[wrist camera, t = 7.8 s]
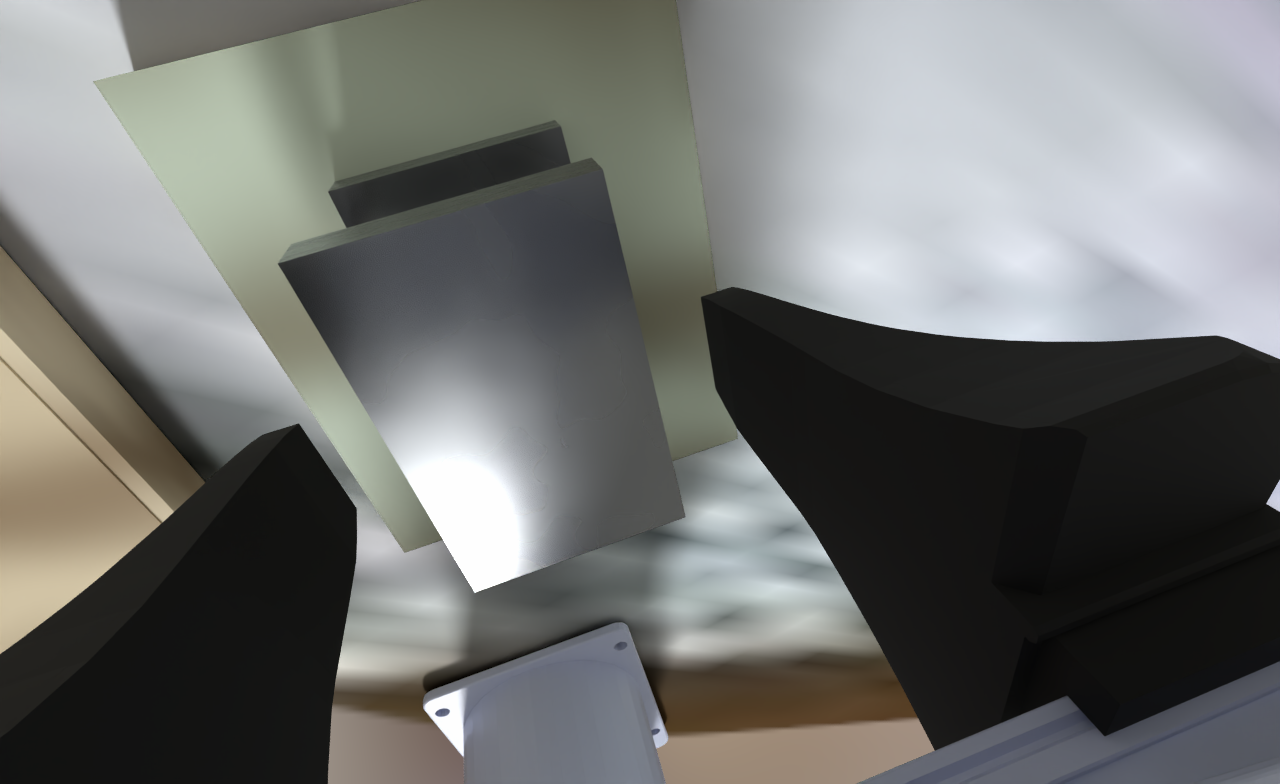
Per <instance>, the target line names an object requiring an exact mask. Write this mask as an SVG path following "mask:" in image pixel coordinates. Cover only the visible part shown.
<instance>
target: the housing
mask: <svg viewBox="0 0 1280 784" xmlns="http://www.w3.org/2000/svg"><path fill="white" fill-rule="evenodd" d="M328 193H329V195H330V197H331V199H332V201H333V203H334V205H335V207H336V209H337V211H338V213H339V215H340V217H341V219H342V221H343V223H344V224H345V226H346V228H345V229H341V230H338V231H335V232H331V233H328V234H324V235H321V236H317V237H314V238H310V239H307V240H303V241H300V242H296V243H293V244H291V245H290V247H289V248H288V249H287V251H286V252H285V254H284V255H283V257H282V258H281V259H280V261H279V262H278V265H279V267H280V268H281V270H282V272H283V273H284V275H285V277H286V278H287V280H288V282H289V283H290V285H291V287H292V288H293V290H294V292H295V293H296V295H297V297H298V298H299V300H300V302H301V303H302V305H303V307H304V308H305V310H306V312H307V313H308V315H309V317H310V318H311V320H312V322H313V323H314V325H315V327H316V328H317V330H318V332H319V333H320V335H321V337H322V338H323V340H324V342H325V343H326V345H327V347H328V348H329V350H330V352H331V353H332V355H333V357H334V358H335V360H336V362H337V363H338V365H339V367H340V368H341V370H342V372H343V373H344V375H345V377H346V378H347V380H348V382H349V383H350V385H351V387H352V388H353V390H354V392H355V393H356V395H357V397H358V398H359V400H360V402H361V403H362V405H363V407H364V408H365V410H366V412H367V413H368V415H369V417H370V418H371V420H372V422H373V423H374V425H375V427H376V428H377V430H378V432H379V433H380V435H381V437H382V438H383V440H384V442H385V443H386V445H387V447H388V448H389V450H390V452H391V453H392V455H393V457H394V458H395V460H396V462H397V463H398V465H399V467H400V468H401V470H402V472H403V473H404V475H405V477H406V478H407V480H408V482H409V483H410V485H411V487H412V488H413V490H414V492H415V493H416V495H417V497H418V498H419V500H420V502H421V503H422V505H423V507H424V508H425V510H426V512H427V513H428V515H429V517H430V518H431V520H432V522H433V523H434V525H435V527H436V528H437V530H438V532H439V533H440V535H441V537H442V538H443V540H444V542H445V543H446V545H447V547H448V548H449V550H450V552H451V553H452V555H453V557H454V558H455V560H456V562H457V563H458V565H459V567H460V568H461V570H462V572H463V573H464V575H465V577H466V578H467V580H468V582H469V583H470V585H471V587H472V588H473V590H474V592H477V591H480V590H483V589H486V588H488V587H491V586H494V585H497V584H500V583H502V582H505V581H508V580H511V579H514V578H516V577H519V576H522V575H525V574H528V573H530V572H533V571H536V570H539V569H542V568H544V567H547V566H550V565H553V564H556V563H558V562H561V561H564V560H567V559H570V558H572V557H575V556H578V555H581V554H584V553H586V552H589V551H592V550H595V549H598V548H600V547H603V546H606V545H609V544H612V543H614V542H617V541H620V540H623V539H626V538H628V537H631V536H634V535H637V534H640V533H642V532H645V531H648V530H651V529H654V528H656V527H659V526H662V525H665V524H668V523H670V522H673V521H676V520H679V519H682V518H684V517H685V513H684V509H683V504H682V500H681V496H680V492H679V488H678V483H677V479H676V475H675V471H674V466H673V462H672V458H671V454H670V450H669V445H668V441H667V437H666V433H665V429H664V424H663V420H662V416H661V412H660V408H659V403H658V399H657V395H656V391H655V386H654V382H653V378H652V374H651V370H650V365H649V361H648V357H647V353H646V349H645V344H644V340H643V336H642V332H641V328H640V323H639V319H638V315H637V311H636V306H635V302H634V298H633V294H632V290H631V285H630V281H629V277H628V273H627V269H626V264H625V260H624V256H623V252H622V248H621V243H620V239H619V235H618V231H617V226H616V222H615V218H614V214H613V210H612V205H611V201H610V197H609V193H608V189H607V184H606V180H605V176H604V172H603V169H602V168H601V167H600V166H599V165H598V164H597V163H596V161H595V160H594V159H593V158H592V157H591V158H588V159H585V160H581V161H578V162H574V163H571V162H570V158H569V154H568V151H567V147H566V143H565V139H564V136H563V132H562V128H561V126H560V125H559V124H558V123H557V122H556V121H555V120H553V121H550V122H546V123H543V124H539V125H535V126H532V127H528V128H525V129H521V130H518V131H514V132H510V133H507V134H503V135H500V136H496V137H492V138H489V139H485V140H482V141H478V142H475V143H471V144H467V145H464V146H460V147H457V148H453V149H450V150H446V151H442V152H439V153H435V154H432V155H428V156H425V157H421V158H417V159H414V160H410V161H407V162H403V163H400V164H396V165H392V166H389V167H385V168H382V169H378V170H374V171H371V172H367V173H364V174H360V175H357V176H353V177H349V178H346V179H342V180H339V181H335V182H334V184H333V185H332V186H331V188H330V189H329V191H328Z"/></svg>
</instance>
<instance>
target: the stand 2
mask: <svg viewBox="0 0 1280 784" xmlns="http://www.w3.org/2000/svg"><path fill="white" fill-rule="evenodd" d="M93 82H94V83H95V85H96V86H97V88H98V89H99V91H100V92H101V94H102V96H103V97H104V99H105V100H106V102H107V103H108V105H109V106H110V108H111V109H112V111H113V112H114V114H115V115H116V117H117V118H118V120H119V121H120V123H121V124H122V126H123V127H124V129H125V130H126V132H127V133H128V135H129V136H130V138H131V139H132V141H133V142H134V144H135V145H136V147H137V148H138V150H139V152H140V153H141V155H142V156H143V158H144V159H145V161H146V162H147V164H148V165H149V167H150V168H151V170H152V171H153V173H154V174H155V176H156V177H157V179H158V180H159V182H160V183H161V185H162V186H163V188H164V189H165V191H166V192H167V194H168V195H169V197H170V198H171V200H172V201H173V203H174V204H175V206H176V208H177V209H178V211H179V212H180V214H181V215H182V217H183V218H184V220H185V221H186V223H187V224H188V226H189V227H190V229H191V230H192V232H193V233H194V235H195V236H196V238H197V239H198V241H199V242H200V244H201V245H202V247H203V248H204V250H205V251H206V253H207V254H208V256H209V257H210V259H211V260H212V262H213V264H214V265H215V267H216V268H217V270H218V271H219V273H220V274H221V276H222V277H223V279H224V280H225V282H226V283H227V285H228V286H229V288H230V289H231V291H232V292H233V294H234V295H235V297H236V298H237V300H238V301H239V303H240V304H241V306H242V307H243V309H244V310H245V312H246V313H247V315H248V316H249V318H250V320H251V321H252V323H253V324H254V326H255V327H256V329H257V330H258V332H259V333H260V335H261V336H262V338H263V339H264V341H265V342H266V344H267V345H268V347H269V348H270V350H271V351H272V353H273V354H274V356H275V357H276V359H277V360H278V362H279V363H280V365H281V366H282V368H283V369H284V371H285V373H286V374H287V376H288V377H289V379H290V380H291V382H292V383H293V385H294V386H295V388H296V389H297V391H298V392H299V394H300V395H301V397H302V398H303V400H304V401H305V403H306V404H307V406H308V407H309V409H310V410H311V412H312V413H313V415H314V416H315V418H316V419H317V421H318V422H319V424H320V425H321V427H322V429H323V430H324V432H325V433H326V435H327V436H328V438H329V439H330V441H331V442H332V444H333V445H334V447H335V448H336V450H337V451H338V453H339V454H340V456H341V457H342V459H343V460H344V462H345V463H346V465H347V466H348V468H349V469H350V471H351V472H352V474H353V475H354V477H355V478H356V480H357V481H358V483H359V485H360V486H361V488H362V489H363V491H364V492H365V494H366V495H367V497H368V498H369V500H370V501H371V503H372V504H373V506H374V507H375V509H376V510H377V512H378V513H379V515H380V516H381V518H382V519H383V521H384V522H385V524H386V525H387V527H388V528H389V530H390V531H391V533H392V534H393V536H394V537H395V539H396V541H397V542H398V544H399V545H400V547H401V548H402V550H403V551H404V553H405V552H408V551H411V550H414V549H417V548H420V547H423V546H426V545H429V544H432V543H435V542H437V541H440V540H443V538H442V537H441V535H440V533H439V532H438V530H437V528H436V527H435V525H434V523H433V522H432V520H431V518H430V517H429V515H428V513H427V512H426V510H425V508H424V507H423V505H422V503H421V502H420V500H419V498H418V497H417V495H416V493H415V492H414V490H413V488H412V487H411V485H410V483H409V482H408V480H407V478H406V477H405V475H404V473H403V472H402V470H401V468H400V467H399V465H398V463H397V462H396V460H395V458H394V457H393V455H392V453H391V452H390V450H389V448H388V447H387V445H386V443H385V442H384V440H383V438H382V437H381V435H380V433H379V432H378V430H377V428H376V427H375V425H374V423H373V422H372V420H371V418H370V417H369V415H368V413H367V412H366V410H365V408H364V407H363V405H362V403H361V402H360V400H359V398H358V397H357V395H356V393H355V392H354V390H353V388H352V387H351V385H350V383H349V382H348V380H347V378H346V377H345V375H344V373H343V372H342V370H341V368H340V367H339V365H338V363H337V362H336V360H335V358H334V357H333V355H332V353H331V352H330V350H329V348H328V347H327V345H326V343H325V342H324V340H323V338H322V337H321V335H320V333H319V332H318V330H317V328H316V327H315V325H314V323H313V322H312V320H311V318H310V317H309V315H308V313H307V312H306V310H305V308H304V307H303V305H302V303H301V302H300V300H299V298H298V297H297V295H296V293H295V292H294V290H293V288H292V287H291V285H290V283H289V282H288V280H287V278H286V277H285V275H284V273H283V272H282V270H281V268H280V267H279V265H278V262H279V261H280V259H281V258H282V257H283V255H284V254H285V252H286V251H287V249H288V248H289V247H290V245H291V244H293V243H296V242H300V241H303V240H307V239H310V238H314V237H317V236H321V235H324V234H328V233H331V232H335V231H338V230H341V229H345V228H346V226H345V224H344V223H343V221H342V219H341V217H340V215H339V213H338V211H337V209H336V207H335V205H334V203H333V201H332V199H331V197H330V195H329V193H328V191H329V189H330V188H331V186H332V185H333V184H334V182H335V181H339V180H342V179H346V178H349V177H353V176H357V175H360V174H364V173H367V172H371V171H374V170H378V169H382V168H385V167H389V166H392V165H396V164H400V163H403V162H407V161H410V160H414V159H417V158H421V157H425V156H428V155H432V154H435V153H439V152H442V151H446V150H450V149H453V148H457V147H460V146H464V145H467V144H471V143H475V142H478V141H482V140H485V139H489V138H492V137H496V136H500V135H503V134H507V133H510V132H514V131H518V130H521V129H525V128H528V127H532V126H535V125H539V124H543V123H546V122H550V121H553V120H555V121H556V122H557V123H558V124H559V125H560V126H561V128H562V132H563V136H564V139H565V143H566V147H567V151H568V154H569V158H570V162H571V163H574V162H578V161H581V160H585V159H588V158H591V157H592V158H593V159H594V160H595V161H596V163H597V164H598V165H599V166H600V167H601V168H602V169H603V172H604V176H605V180H606V184H607V189H608V193H609V197H610V201H611V205H612V210H613V214H614V218H615V222H616V226H617V231H618V235H619V239H620V243H621V248H622V252H623V256H624V260H625V264H626V269H627V273H628V277H629V281H630V285H631V290H632V294H633V298H634V302H635V306H636V311H637V315H638V319H639V323H640V328H641V332H642V336H643V340H644V344H645V349H646V353H647V357H648V361H649V365H650V370H651V374H652V378H653V382H654V386H655V391H656V395H657V399H658V403H659V408H660V412H661V416H662V420H663V424H664V429H665V433H666V437H667V441H668V445H669V450H670V454H671V458H672V461H674V460H677V459H680V458H683V457H686V456H689V455H691V454H694V453H697V452H700V451H703V450H706V449H709V448H712V447H715V446H718V445H721V444H724V443H727V442H729V441H732V440H735V439H738V438H737V430H736V426H735V424H734V422H733V420H732V419H731V417H730V415H729V413H728V411H727V410H726V408H725V406H724V404H723V402H722V400H721V398H720V397H719V395H718V393H717V391H716V389H715V383H714V377H713V371H712V365H711V358H710V352H709V346H708V340H707V334H706V328H705V321H704V315H703V309H702V303H701V297H702V296H705V295H708V294H712V293H715V292H717V289H716V282H715V275H714V268H713V260H712V253H711V246H710V239H709V232H708V225H707V218H706V211H705V204H704V197H703V190H702V182H701V175H700V168H699V161H698V154H697V147H696V140H695V133H694V126H693V119H692V112H691V105H690V97H689V90H688V83H687V76H686V69H685V62H684V55H683V48H682V41H681V34H680V27H679V20H678V12H677V5H676V0H421V1H417V2H413V3H409V4H405V5H401V6H397V7H393V8H389V9H385V10H381V11H377V12H373V13H369V14H365V15H361V16H357V17H353V18H348V19H344V20H340V21H336V22H332V23H328V24H324V25H320V26H316V27H312V28H308V29H304V30H300V31H296V32H292V33H288V34H284V35H280V36H275V37H271V38H267V39H263V40H259V41H255V42H251V43H247V44H243V45H239V46H235V47H231V48H227V49H223V50H219V51H215V52H211V53H207V54H203V55H198V56H194V57H190V58H186V59H182V60H178V61H174V62H170V63H166V64H162V65H158V66H154V67H150V68H146V69H142V70H138V71H134V72H130V73H125V74H121V75H117V76H113V77H109V78H105V79H101V80H97V81H93Z"/></svg>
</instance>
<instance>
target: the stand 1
mask: <svg viewBox="0 0 1280 784" xmlns="http://www.w3.org/2000/svg"><path fill="white" fill-rule="evenodd" d="M204 484H205V482H204V480H203V479H202V478H201V477H200V476H199V475H198V474H197V472H196V471H195V470H194V469H193V468H192V467H191V465H190V464H189V463H188V462H187V461H186V460H185V459H184V457H183V456H182V455H181V454H180V453H179V452H178V450H177V449H176V448H175V447H174V446H173V445H172V444H171V442H170V441H169V440H168V439H167V438H166V437H165V435H164V434H163V433H162V432H161V431H160V430H159V429H158V427H157V426H156V425H155V424H154V423H153V422H152V420H151V419H150V418H149V417H148V416H147V415H146V414H145V412H144V411H143V410H142V409H141V408H140V407H139V405H138V404H137V403H136V402H135V401H134V400H133V399H132V397H131V396H130V395H129V394H128V393H127V392H126V390H125V389H124V388H123V387H122V386H121V385H120V384H119V382H118V381H117V380H116V379H115V378H114V377H113V375H112V374H111V373H110V372H109V371H108V370H107V369H106V367H105V366H104V365H103V364H102V363H101V362H100V360H99V359H98V358H97V357H96V356H95V355H94V354H93V352H92V351H91V350H90V349H89V348H88V347H87V345H86V344H85V343H84V342H83V341H82V340H81V339H80V337H79V336H78V335H77V334H76V333H75V332H74V330H73V329H72V328H71V327H70V326H69V325H68V324H67V322H66V321H65V320H64V319H63V318H62V317H61V315H60V314H59V313H58V312H57V311H56V310H55V309H54V307H53V306H52V305H51V304H50V303H49V302H48V300H47V299H46V298H45V297H44V296H43V295H42V294H41V292H40V291H39V290H38V289H37V288H36V287H35V285H34V284H33V283H32V282H31V281H30V280H29V279H28V277H27V276H26V275H25V274H24V273H23V272H22V270H21V269H20V268H19V267H18V266H17V265H16V264H15V262H14V261H13V260H12V259H11V258H10V257H9V255H8V254H7V253H6V252H5V251H4V250H3V249H2V247H1V246H0V654H1V653H2V652H4V651H5V650H6V649H8V648H9V647H11V646H12V645H13V644H15V643H16V642H17V641H19V640H20V639H22V638H23V637H24V636H26V635H27V634H28V633H29V632H31V631H32V630H33V629H35V628H36V627H37V626H39V625H40V624H41V623H43V622H44V621H45V620H47V619H48V618H49V617H50V616H52V615H53V614H54V613H56V612H57V611H58V610H60V609H61V608H62V607H64V606H65V605H66V604H67V603H69V602H70V601H71V600H72V599H74V598H75V597H76V596H77V595H79V594H80V593H81V592H82V591H84V590H85V589H86V588H87V587H89V586H90V585H91V584H92V583H93V582H95V581H96V580H97V579H98V578H99V577H101V576H102V575H103V574H104V573H105V572H107V571H108V570H109V569H110V568H111V567H112V566H113V565H115V564H116V563H117V562H118V561H119V560H120V559H121V558H123V557H124V556H125V555H126V554H127V553H128V552H129V551H131V550H132V549H133V548H134V547H135V546H136V545H137V544H139V543H140V542H141V541H142V540H143V539H144V538H145V537H147V536H148V535H149V534H150V533H151V532H152V531H153V530H155V529H156V528H157V527H158V526H159V525H160V524H161V523H162V522H164V521H165V520H166V519H167V518H168V517H169V516H170V515H171V514H172V513H173V512H174V511H175V510H177V509H178V508H179V507H180V506H181V505H182V504H183V503H184V502H185V501H186V500H187V499H188V498H190V497H191V496H192V495H193V494H194V493H195V492H196V491H197V490H198V489H199V488H200V487H201V486H202V485H204Z"/></svg>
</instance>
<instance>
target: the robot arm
mask: <svg viewBox="0 0 1280 784" xmlns="http://www.w3.org/2000/svg"><path fill="white" fill-rule="evenodd" d="M701 303H702V309H703V315H704V321H705V328H706V334H707V340H708V346H709V352H710V358H711V365H712V371H713V377H714V383H715V389H716V391H717V393H718V395H719V397H720V398H721V400H722V402H723V404H724V406H725V408H726V410H727V411H728V413H729V415H730V417H731V419H732V420H733V422H734V424H735V426H736V427H737V429H738V430H739V432H740V433H741V434H742V436H743V437H744V439H745V440H746V441H747V443H748V444H749V445H750V447H751V448H752V449H753V451H754V452H755V453H756V455H757V456H758V457H759V459H760V460H761V461H762V462H763V464H764V465H765V466H766V468H767V469H768V470H769V472H770V473H771V474H772V476H773V477H774V478H775V480H776V481H777V482H778V483H779V485H780V486H781V487H782V489H783V490H784V491H785V493H786V494H787V495H788V497H789V498H790V499H791V501H792V502H793V503H794V504H795V506H796V507H797V508H798V510H799V511H800V512H801V514H802V515H803V517H804V518H805V520H806V521H807V523H808V524H809V525H810V527H811V528H812V530H813V531H814V533H815V534H816V536H817V538H818V539H819V541H820V543H821V544H822V546H823V548H824V549H825V551H826V553H827V554H828V556H829V558H830V559H831V561H832V563H833V564H834V566H835V568H836V569H837V571H838V573H839V574H840V576H841V578H842V580H843V581H844V583H845V585H846V587H847V588H848V590H849V592H850V594H851V595H852V597H853V599H854V601H855V602H856V604H857V606H858V608H859V609H860V611H861V613H862V615H863V616H864V618H865V620H866V622H867V623H868V625H869V627H870V629H871V630H872V632H873V634H874V636H875V638H876V640H877V642H878V643H879V645H880V647H881V649H882V651H883V653H884V654H885V656H886V658H887V660H888V662H889V664H890V665H891V667H892V669H893V671H894V673H895V675H896V677H897V678H898V680H899V682H900V684H901V686H902V688H903V689H904V691H905V693H906V695H907V697H908V699H909V701H910V703H911V705H912V707H913V709H914V711H915V713H916V715H917V717H918V719H919V721H920V722H921V724H922V726H923V728H924V730H925V732H926V734H927V736H928V738H929V740H930V742H931V744H932V746H933V748H934V750H935V751H933V752H931V753H928V754H926V755H924V756H921V757H919V758H917V759H914V760H912V761H909V762H907V763H905V764H902V765H900V766H897V767H895V768H893V769H890V770H888V771H885V772H883V773H881V774H879V775H876V776H873V777H871V778H869V779H866V780H864V781H862V782H859V783H857V784H1280V512H1279V511H1277V510H1276V509H1274V508H1272V507H1270V506H1269V505H1267V504H1266V503H1267V501H1268V499H1269V498H1270V496H1271V494H1272V492H1273V490H1274V489H1275V487H1276V485H1277V483H1278V482H1279V480H1280V359H1278V358H1275V357H1273V356H1270V355H1268V354H1266V353H1263V352H1261V351H1258V350H1256V349H1253V348H1251V347H1248V346H1246V345H1244V344H1241V343H1239V342H1236V341H1233V340H1231V339H1228V338H1225V337H1221V336H1200V337H1182V338H1164V339H1146V340H1129V341H1107V342H1036V341H1007V340H993V339H978V338H964V337H954V336H944V335H935V334H929V333H922V332H915V331H908V330H901V329H895V328H889V327H884V326H879V325H874V324H869V323H865V322H861V321H856V320H852V319H847V318H843V317H839V316H835V315H831V314H827V313H824V312H820V311H816V310H813V309H809V308H806V307H802V306H799V305H796V304H792V303H789V302H786V301H782V300H779V299H776V298H773V297H769V296H766V295H763V294H759V293H756V292H752V291H749V290H745V289H741V288H735V287H731V288H727V289H724V290H721V291H718V292H715V293H712V294H708V295H705V296H702V297H701ZM356 550H357V508H356V507H355V505H354V504H353V502H352V501H351V500H350V498H349V497H348V495H347V494H346V492H345V491H344V489H343V488H342V486H341V485H340V483H339V482H338V480H337V479H336V477H335V476H334V475H333V473H332V472H331V470H330V469H329V467H328V466H327V464H326V463H325V461H324V460H323V458H322V457H321V455H320V454H319V452H318V451H317V450H316V448H315V447H314V445H313V444H312V442H311V441H310V439H309V438H308V436H307V435H306V433H305V432H304V430H303V429H302V427H301V426H300V425H299V424H296V425H292V426H289V427H286V428H283V429H280V430H277V431H273V432H270V433H267V434H264V435H262V436H260V437H259V438H257V439H256V440H254V441H253V442H252V443H250V444H249V445H248V446H246V447H245V448H244V449H243V450H242V451H240V452H239V453H238V454H237V455H236V456H234V457H233V458H232V459H231V460H230V461H229V462H228V463H227V464H225V465H224V466H223V467H222V468H221V469H220V470H219V471H218V472H217V473H216V474H214V475H213V476H212V477H211V478H210V479H209V480H208V481H207V482H206V483H205V484H204V485H202V486H201V487H200V488H199V489H198V490H197V491H196V492H195V493H194V494H193V495H192V496H191V497H190V498H188V499H187V500H186V501H185V502H184V503H183V504H182V505H181V506H180V507H179V508H178V509H177V510H175V511H174V512H173V513H172V514H171V515H170V516H169V517H168V518H167V519H166V520H165V521H164V522H162V523H161V524H160V525H159V526H158V527H157V528H156V529H155V530H153V531H152V532H151V533H150V534H149V535H148V536H147V537H145V538H144V539H143V540H142V541H141V542H140V543H139V544H137V545H136V546H135V547H134V548H133V549H132V550H131V551H129V552H128V553H127V554H126V555H125V556H124V557H123V558H121V559H120V560H119V561H118V562H117V563H116V564H115V565H113V566H112V567H111V568H110V569H109V570H108V571H107V572H105V573H104V574H103V575H102V576H101V577H99V578H98V579H97V580H96V581H95V582H93V583H92V584H91V585H90V586H89V587H87V588H86V589H85V590H84V591H82V592H81V593H80V594H79V595H77V596H76V597H75V598H74V599H72V600H71V601H70V602H69V603H67V604H66V605H65V606H64V607H62V608H61V609H60V610H58V611H57V612H56V613H54V614H53V615H52V616H50V617H49V618H48V619H47V620H45V621H44V622H43V623H41V624H40V625H39V626H37V627H36V628H35V629H33V630H32V631H31V632H29V633H28V634H27V635H26V636H24V637H23V638H22V639H20V640H19V641H17V642H16V643H15V644H13V645H12V646H11V647H9V648H8V649H6V650H5V651H4V652H2V653H1V654H0V784H328V763H329V746H330V729H331V728H330V727H331V712H332V703H333V695H334V687H335V680H336V674H337V669H338V663H339V657H340V652H341V646H342V640H343V635H344V629H345V624H346V618H347V612H348V607H349V601H350V595H351V589H352V583H353V577H354V571H355V564H356ZM423 708H424V710H425V711H426V713H427V714H428V715H429V716H430V717H431V719H432V720H433V721H434V722H435V723H436V725H437V726H438V727H439V728H440V730H441V731H442V732H443V733H444V734H445V735H446V737H447V738H448V739H449V740H450V742H451V743H452V744H453V745H454V746H455V748H456V749H457V750H458V751H459V752H460V754H461V755H462V756H463V757H464V784H666V782H665V779H664V775H663V772H662V768H661V764H660V761H659V757H658V753H657V750H656V748H658V747H661V746H663V745H664V744H665V743H666V742H667V741H668V734H667V731H666V728H665V726H664V723H663V720H662V717H661V715H660V712H659V709H658V707H657V704H656V701H655V699H654V696H653V693H652V690H651V688H650V685H649V682H648V680H647V677H646V674H645V671H644V669H643V666H642V663H641V661H640V658H639V655H638V652H637V650H636V647H635V644H634V642H633V639H632V636H631V633H630V631H629V628H628V626H627V625H626V624H624V623H622V622H616V623H612V624H610V625H607V626H604V627H602V628H599V629H596V630H593V631H591V632H588V633H585V634H583V635H580V636H577V637H574V638H572V639H569V640H566V641H564V642H561V643H558V644H555V645H553V646H550V647H547V648H545V649H542V650H539V651H536V652H534V653H531V654H528V655H526V656H523V657H520V658H517V659H515V660H512V661H509V662H507V663H504V664H501V665H498V666H496V667H493V668H490V669H488V670H485V671H482V672H479V673H477V674H474V675H471V676H469V677H466V678H463V679H460V680H458V681H455V682H452V683H449V684H447V685H444V686H441V687H439V688H436V689H433V690H431V691H429V692H428V693H427V694H426V695H425V696H424V698H423Z"/></svg>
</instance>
